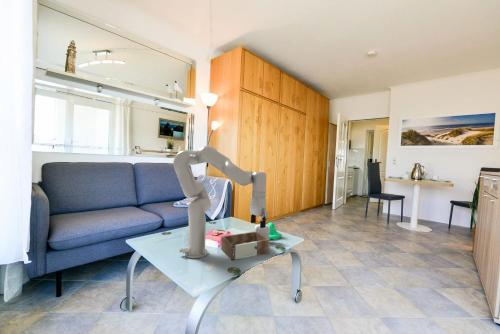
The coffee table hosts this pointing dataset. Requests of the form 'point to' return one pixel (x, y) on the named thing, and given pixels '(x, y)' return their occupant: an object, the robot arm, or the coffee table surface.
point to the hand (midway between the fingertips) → (257, 225)
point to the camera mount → (273, 232)
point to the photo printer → (263, 230)
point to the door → (245, 250)
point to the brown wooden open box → (236, 239)
